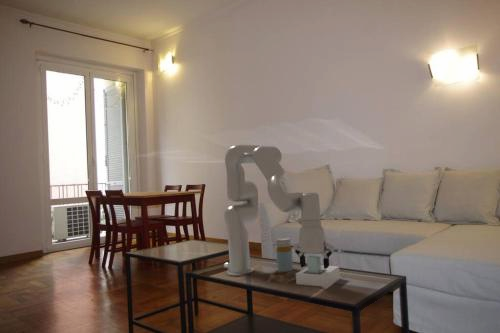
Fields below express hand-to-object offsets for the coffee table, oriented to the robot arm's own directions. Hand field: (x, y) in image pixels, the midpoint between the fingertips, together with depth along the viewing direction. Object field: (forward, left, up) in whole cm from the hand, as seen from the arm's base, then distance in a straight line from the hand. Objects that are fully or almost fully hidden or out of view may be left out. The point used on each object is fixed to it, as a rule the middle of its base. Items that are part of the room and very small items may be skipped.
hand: (314, 267), depth 154 cm
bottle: (-21, +15, -7) cm, 27 cm away
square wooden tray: (-15, -1, -7) cm, 16 cm away
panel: (0, +3, -7) cm, 7 cm away
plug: (0, 0, -6) cm, 6 cm away
